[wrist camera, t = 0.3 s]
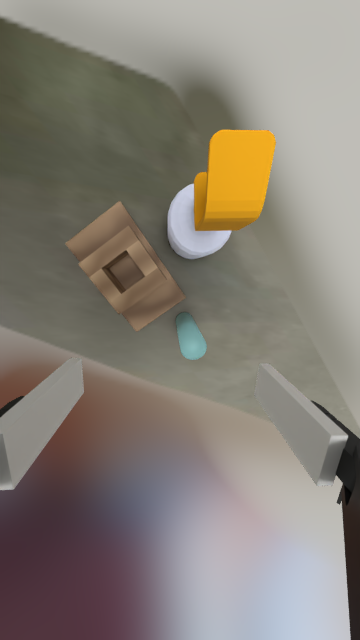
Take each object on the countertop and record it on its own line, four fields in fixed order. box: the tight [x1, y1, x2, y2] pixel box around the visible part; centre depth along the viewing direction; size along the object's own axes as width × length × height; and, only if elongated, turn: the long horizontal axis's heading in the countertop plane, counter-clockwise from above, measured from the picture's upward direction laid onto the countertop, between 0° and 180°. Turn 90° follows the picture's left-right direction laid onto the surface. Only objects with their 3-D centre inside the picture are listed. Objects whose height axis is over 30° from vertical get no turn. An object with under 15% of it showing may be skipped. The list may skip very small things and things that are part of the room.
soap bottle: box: [167, 130, 276, 259], centre depth 23 cm, size 9×9×25 cm
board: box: [65, 201, 186, 332], centre depth 34 cm, size 20×12×6 cm, turn 35°
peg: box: [176, 312, 207, 360], centre depth 33 cm, size 4×4×14 cm
